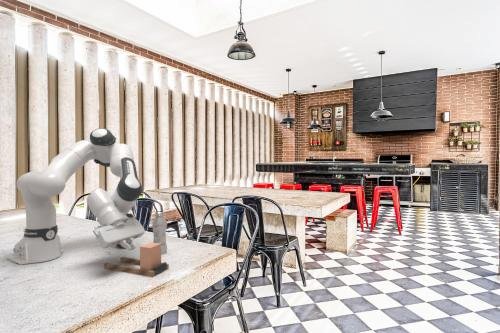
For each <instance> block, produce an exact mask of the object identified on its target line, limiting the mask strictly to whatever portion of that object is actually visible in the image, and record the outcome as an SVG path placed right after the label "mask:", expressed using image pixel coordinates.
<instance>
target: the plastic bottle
mask: <svg viewBox="0 0 500 333" xmlns="http://www.w3.org/2000/svg"><path fill="white" fill-rule="evenodd" d="M164 213H165V212H164V211H162V210H159V211H154V217H155V218H154V219H153V220H152V231H153V235H152V236H153V240H152V241H153V242H152V243H159V244H161V255H164V254H166V253H167V252H168V244H167V228H168V221H167V219H166V218H165V217H164V216H165V214H164Z"/></svg>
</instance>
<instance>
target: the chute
mask: <svg viewBox="0 0 500 333" xmlns="http://www.w3.org/2000/svg"><path fill="white" fill-rule="evenodd" d="M119 262H120V263H124V264H129V265H130V264H131V265H136V266H140V258H133V257H127V256H121V257H120V258H119ZM129 265H128V266H126V265H121V264H115V263H109V262H105V263H104V264H103V266H104V267H103V268H104V269H106V270H111V271H116V272H122V273H127V274H134V275H139V276H144V277H148V278H153V277H156V276H158V275H159V274H162V273H163V272H165V271H167V270H168V269H169V268H170V267H169V266H170V265H169V263H167V262H166V261H165V262H161V264H160V265H158V266H156V267H154V268H153V271H151V270H146V269H140V267H134V266H133V267H132V266H129Z"/></svg>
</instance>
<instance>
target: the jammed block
mask: <svg viewBox="0 0 500 333" xmlns="http://www.w3.org/2000/svg"><path fill="white" fill-rule="evenodd" d="M139 259H140V265H139V268H140V269H146V270H151V271H153V268H154V267H156V266H158V265H160V264H161V263H162V254H161V244H159V243H153V242H149V243H146V244H143V245H140V246H139Z"/></svg>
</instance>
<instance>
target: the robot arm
mask: <svg viewBox="0 0 500 333" xmlns="http://www.w3.org/2000/svg"><path fill="white" fill-rule="evenodd" d="M92 160H93V162H94V163H95V164H98V165H100V166H102V167H105V168H106V167H107V168H109V169H110V172H111V174H112V175H114V176H116V177H117V178H121V179H120V180H119V182H118V184H117V186H116V188H115V190H114V192H111V191H107V190H104V189H103V188H101V187H100V188H99V187H98V188H97V189H94V190H93V191H92V192H91V193H89V195H88V196H87V198H86V204H87V206H88V208H89V209H90V211H91V213H92V215H93V216H94V217H95V218H97V220H98V224H99V225H96V226H94V228H93V229H92V232H93V234H94V236H95V238H96V239H95V240H97V243H98V245H99V247H100V248H102V249H107V248H111V247H113V246H116V245H117V244H120V245H121V246H122V247H121V248H123V247H124V248H125V249H126V251H127V252H130V251H132V250H135V249H136V245H135V239H139V238H142V236H144V235H145V233H146V232H145V231H146V230H145V228H144V226H143V225H142V224H141V222H140V221H139V220H138V219H136V216H135V214H134V213H130V211H131V210H132V209H133V207H134V206H135V204H136V202H137V200H138V199H139V198H140V196H141V195H142V194H143V190H144V188H143V185H142V183H141V181H140V179H139V177H138V172H137V166H136V162H135V157H134V153H133V150H132V148H131V146H129V145H128V144H126V143H119V142H117V137H116V136H115V135H114V134H113V133H112V132H111V130H109V129H107V128H105V127H99V128H96V129H94V130H92V131H91V132H90V134H89V140H85V139H82V140H79V141H77V142H75V143H73V144H71V145H69V146H68V147H67V148H65V149H64V150H62V151H61V152H60V153H58V154H57V155H55V157H53V158H52V159H51V161H50V163H49V165H48V166H47V167H46V168H45V169H43V170H41V171H29V172H27V173H23V174H22V175H20V176H19V177H18V179H17V181H16V187H17V189H18V191H19V192H20V194H21V195H20V196H21V199H22V201H23V205H24V209H25V220H26V222H25V224H26V227H25V228H24V229H23V231H22V232H23V233H24V234H23V237H22V238H21V239H20V240H19V241H17V243H16V244H15V245H14V247H13V249H12V250H13V254H10V255H8V256H7V257H6V258H7V260H9V261H11V262H13V263H16V264H17V263H18V264H17V265H26V264H35V263H43V262H47V261H51V260H55V259H58V258H59V257H61V256H62V254H63V253H64V249H62V244H61V237H60V235H59V234H58V232H59V231H58V230H59V228H58V224H57V209H56V206H55V205H54V204H53V203H54V202H52V201H53V200H52V199H51V197H56V196H58V195H60V194H62V193H63V192H64V190H65V189H66V184H67V182H68V181H69V180H70V178H71V177H72V176H73V175H74V174H76V172H77V171H78V170H80V169H81V168H82V167H84V165H86V164H87V163H88V162H89V161H92ZM126 242H128V243H130V245H129V244H128V243H126Z"/></svg>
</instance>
